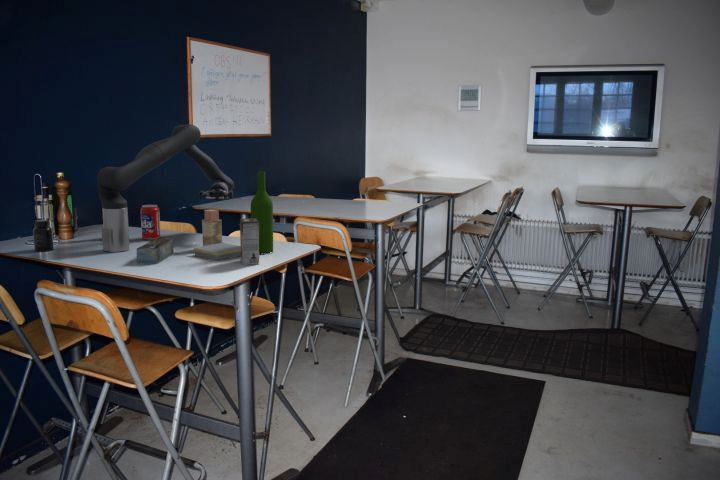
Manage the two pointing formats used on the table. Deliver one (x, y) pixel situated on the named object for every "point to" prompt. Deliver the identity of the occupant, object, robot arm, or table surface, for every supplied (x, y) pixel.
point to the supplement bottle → (43, 236)
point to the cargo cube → (211, 215)
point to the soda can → (150, 222)
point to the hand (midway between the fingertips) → (214, 196)
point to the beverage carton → (155, 251)
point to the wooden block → (212, 232)
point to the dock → (218, 251)
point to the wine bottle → (263, 215)
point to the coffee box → (249, 240)
